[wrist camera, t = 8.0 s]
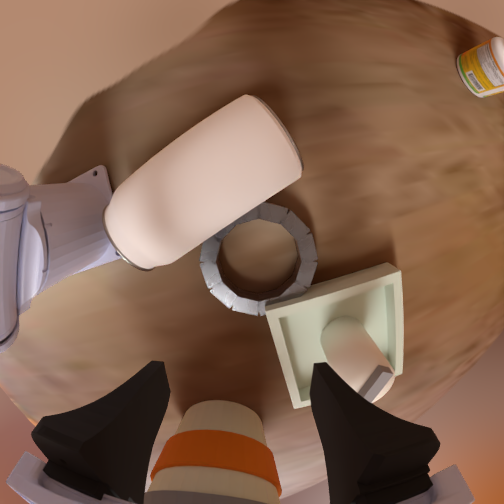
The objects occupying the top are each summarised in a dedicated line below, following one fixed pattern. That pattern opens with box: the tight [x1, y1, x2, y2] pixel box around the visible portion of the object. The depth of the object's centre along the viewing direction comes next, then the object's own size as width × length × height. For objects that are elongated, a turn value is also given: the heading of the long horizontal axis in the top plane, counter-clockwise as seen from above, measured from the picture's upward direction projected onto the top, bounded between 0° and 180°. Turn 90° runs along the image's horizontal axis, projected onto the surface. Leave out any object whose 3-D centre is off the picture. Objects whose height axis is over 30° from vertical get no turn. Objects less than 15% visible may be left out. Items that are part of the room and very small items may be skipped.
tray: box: [265, 262, 404, 409], centre depth 22 cm, size 11×11×2 cm
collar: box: [199, 201, 318, 316], centre depth 20 cm, size 8×8×2 cm
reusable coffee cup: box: [144, 400, 282, 504], centre depth 18 cm, size 13×12×15 cm
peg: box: [320, 316, 395, 403], centre depth 18 cm, size 4×4×8 cm
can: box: [102, 95, 304, 271], centre depth 17 cm, size 6×6×12 cm
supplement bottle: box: [457, 37, 504, 97], centre depth 12 cm, size 5×5×10 cm
